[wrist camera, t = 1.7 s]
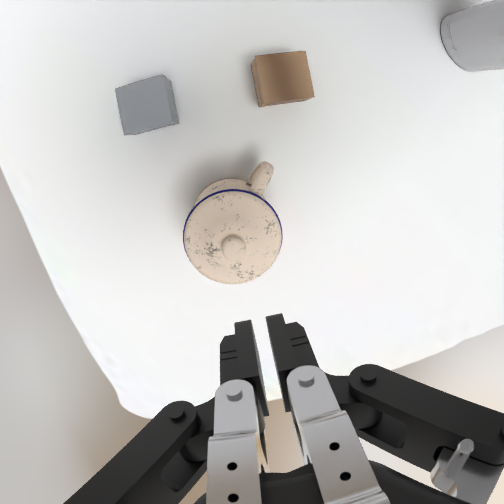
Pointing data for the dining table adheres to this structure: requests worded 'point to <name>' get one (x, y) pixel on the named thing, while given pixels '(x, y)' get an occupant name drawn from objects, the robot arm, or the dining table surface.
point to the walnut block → (282, 78)
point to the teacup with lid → (234, 229)
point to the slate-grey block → (146, 105)
